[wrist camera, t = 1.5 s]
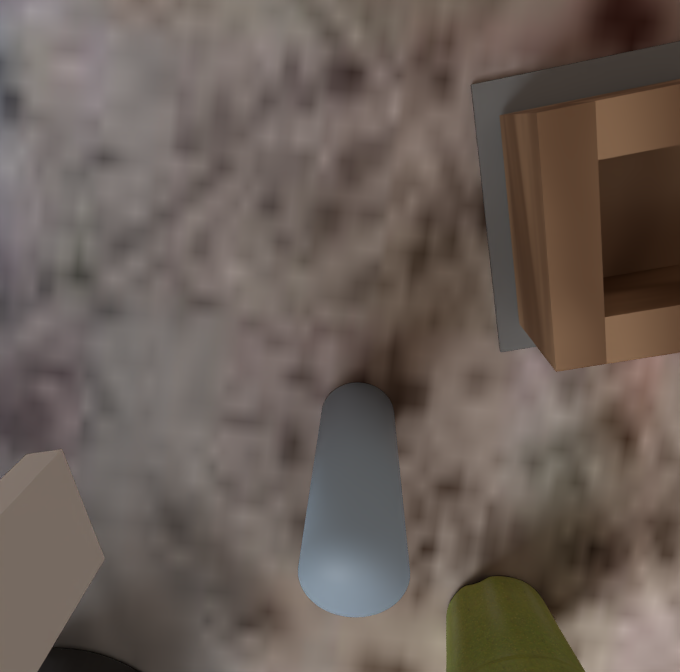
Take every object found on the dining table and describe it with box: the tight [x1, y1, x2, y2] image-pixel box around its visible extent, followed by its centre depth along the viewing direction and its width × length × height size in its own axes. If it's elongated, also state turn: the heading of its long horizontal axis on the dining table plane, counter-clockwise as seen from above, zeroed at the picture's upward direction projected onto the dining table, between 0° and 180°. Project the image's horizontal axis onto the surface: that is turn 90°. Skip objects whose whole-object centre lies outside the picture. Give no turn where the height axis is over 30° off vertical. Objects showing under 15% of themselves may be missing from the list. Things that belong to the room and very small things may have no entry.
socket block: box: [499, 79, 680, 372], centre depth 24 cm, size 10×10×6 cm
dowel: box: [298, 383, 410, 617], centre depth 26 cm, size 4×4×12 cm
